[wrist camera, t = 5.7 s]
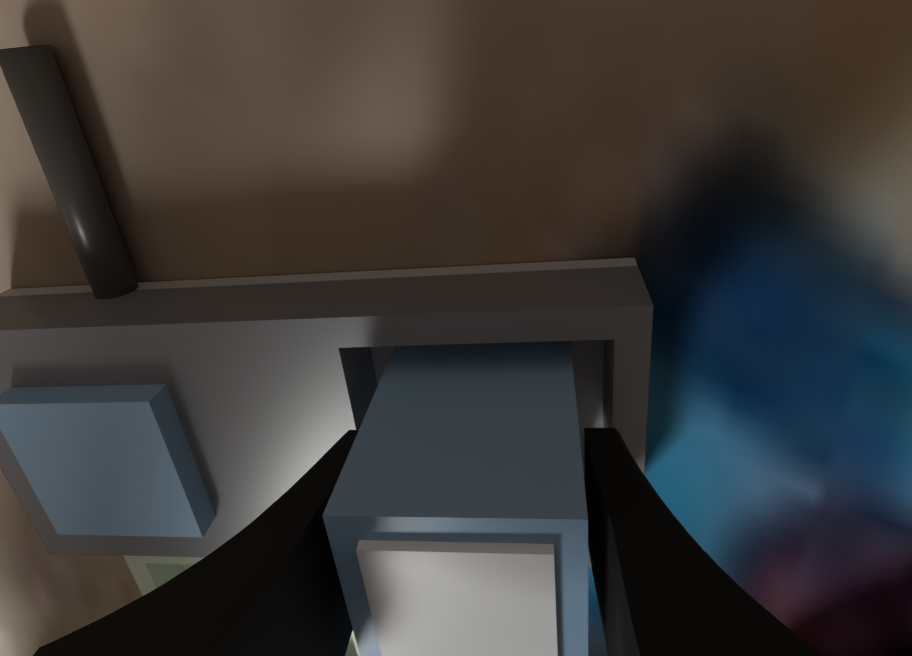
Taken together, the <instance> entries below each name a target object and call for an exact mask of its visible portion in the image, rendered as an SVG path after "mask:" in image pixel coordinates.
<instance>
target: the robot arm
mask: <svg viewBox="0 0 912 656" xmlns="http://www.w3.org/2000/svg"><path fill="white" fill-rule="evenodd" d="M358 431H359V430H349V431H347V432H346V433H345V434H344V435H343V436H342V437H341V438H340V439H339V440H338V441H337V442H336V443H335V444H334V445H333V446H332V447H331V448H330V449H329V450H328V451H327V452H326V453H325V454H324V455H323V456H322V457H321V458H320V459H319V460H318V461H317V462H316V463H315V464H314V465H313V466H312V467H311V468H310V469H309V470H308V471H307V472H306V473H305V474H304V475H303V476H302V477H301V478H300V479H299V480H298V481H297V482H296V483H295V484H294V485H293V486H292V487H291V488H290V489H289V490H288V491H286V492H285V493H284V494H283V495H282V496H281V497H280V498H279V499H277V500H276V501H275V502H274V503H273V504H272V505H271V506H270V507H268V508H267V509H266V510H265V511H264V512H263V513H262V514H261V515H259V516H258V517H257V518H256V519H255V520H254V521H252V522H251V523H250V524H249V525H247V526H246V527H245V528H244V529H242V530H241V531H240V532H239V533H237V534H236V535H235V536H233V537H232V538H231V539H229V540H228V541H227V542H225V543H224V544H223V545H221V546H220V547H219V548H217V549H216V550H215V551H213V552H212V553H210V554H209V555H207V556H206V557H204V558H203V559H201V560H200V561H198V562H197V563H195V564H194V565H192V566H191V567H189V568H188V569H186V570H185V571H183V572H181V573H180V574H178V575H177V576H175V577H174V578H172V579H171V580H169V581H168V582H166V583H164V584H163V585H161V586H159V587H158V588H156V589H154V590H153V591H151V592H149V593H147V594H146V595H144V596H142V597H140V598H139V599H137V600H135V601H133V602H131V603H130V604H128V605H126V606H124V607H122V608H120V609H119V610H117V611H115V612H113V613H111V614H109V615H107V616H105V617H103V618H101V619H99V620H97V621H95V622H93V623H91V624H89V625H87V626H85V627H83V628H81V629H78V630H76V631H74V632H72V633H70V634H68V635H66V636H64V637H62V638H60V639H58V640H55V641H53V642H51V643H49V644H47V645H44V646H42V647H40V648H39V649H38V650H37V651H36V653H35V654H34V655H33V656H345V654H346V651H347V647H348V644H349V640H350V637H351V634H352V631H353V628H352V624H351V621H350V617H349V613H348V609H347V606H346V602H345V598H344V595H343V591H342V587H341V583H340V580H339V576H338V572H337V569H336V565H335V561H334V557H333V554H332V550H331V546H330V543H329V539H328V535H327V531H326V528H325V524H324V520H323V517H322V515H323V513H324V511H325V508H326V506H327V504H328V501H329V499H330V497H331V494H332V492H333V490H334V487H335V485H336V483H337V480H338V478H339V476H340V473H341V471H342V469H343V466H344V464H345V461H346V459H347V457H348V454H349V452H350V450H351V447H352V445H353V443H354V440H355V438H356V436H357V433H358ZM584 461H585V494H586V504H587V515H588V549H589V555H590V560H591V566H592V571H593V577H594V582H595V588H596V593H597V599H598V604H599V609H600V615H601V620H602V625H603V631H604V636H605V642H606V647H607V653H608V656H825V655H823V654H822V653H821V652H819V651H818V650H816V649H815V648H814V647H812V646H811V645H810V644H808V643H807V642H806V641H804V640H803V639H802V638H801V637H799V636H798V635H797V634H795V633H794V632H793V631H791V630H790V629H789V628H788V627H786V626H785V625H784V624H783V623H781V622H780V621H779V620H778V619H777V618H776V617H774V616H773V615H772V614H771V613H770V612H769V611H767V610H766V609H765V608H764V607H763V606H762V605H761V604H759V603H758V602H757V601H756V600H755V599H754V598H752V597H751V596H750V595H749V594H748V593H747V592H745V591H744V590H743V589H742V588H741V587H740V586H739V585H738V584H737V583H736V582H735V581H734V580H733V579H732V578H731V577H730V576H729V575H728V574H727V573H725V572H724V571H723V570H722V569H721V568H720V567H719V566H718V565H717V564H716V563H715V561H714V560H713V559H712V558H711V557H710V556H709V555H708V554H707V553H706V552H705V551H704V550H703V549H702V548H701V547H700V546H699V545H698V543H697V542H696V541H695V540H694V539H693V538H692V537H691V535H690V534H689V533H688V532H687V531H686V530H685V528H684V527H683V526H682V525H681V524H680V522H679V521H678V520H677V519H676V517H675V516H674V515H673V514H672V513H671V511H670V510H669V509H668V507H667V506H666V505H665V503H664V502H663V501H662V499H661V498H660V497H659V495H658V494H657V493H656V491H655V490H654V488H653V487H652V486H651V484H650V483H649V481H648V480H647V478H646V477H645V475H644V474H643V473H642V471H641V469H640V468H639V466H638V465H637V463H636V461H635V460H634V458H633V457H632V455H631V453H630V452H629V450H628V448H627V446H626V444H625V442H624V440H623V439H622V436H621V434H620V432H619V431H618V430H616V429H615V428H584Z"/></svg>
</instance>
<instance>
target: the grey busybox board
mask: <svg viewBox="0 0 912 656" xmlns="http://www.w3.org/2000/svg"><path fill="white" fill-rule="evenodd" d="M0 66H1V69H2V71H3V73H4V76H5V78H6V81H7V83H8V86H9V88H10V91H11V93H12V95H13V98H14V100H15V103H16V105H17V108H18V110H19V113H20V115H21V117H22V120H23V122H24V125H25V127H26V130H27V132H28V135H29V137H30V139H31V142H32V144H33V147H34V149H35V152H36V154H37V157H38V159H39V162H40V164H41V166H42V169H43V171H44V174H45V176H46V179H47V181H48V184H49V186H50V188H51V191H52V193H53V196H54V198H55V201H56V203H57V206H58V208H59V210H60V213H61V215H62V218H63V220H64V223H65V225H66V228H67V230H68V232H69V235H70V237H71V240H72V242H73V245H74V247H75V250H76V252H77V254H78V257H79V259H80V262H81V264H82V267H83V269H84V272H85V274H86V276H87V279H88V281H89V284H90V285H76V286H57V287H37V288H17V289H8V290H6V291H4V292H2V293H0V468H1V469H2V471H3V473H4V475H5V476H6V478H7V480H8V482H9V483H10V485H11V487H12V489H13V490H14V492H15V494H16V496H17V497H18V499H19V501H20V503H21V505H22V506H23V508H24V510H25V512H26V513H27V515H28V517H29V519H30V520H31V522H32V524H33V526H34V527H35V529H36V531H37V533H38V535H39V536H40V538H41V540H42V542H43V543H44V545H45V547H46V549H47V550H48V552H49V554H87V555H126V556H165V557H206V556H207V555H209V554H210V553H212V552H213V551H215V550H216V549H217V548H219V547H220V546H221V545H223V544H224V543H225V542H227V541H228V540H229V539H231V538H232V537H233V536H235V535H236V534H237V533H239V532H240V531H241V530H242V529H244V528H245V527H246V526H247V525H249V524H250V523H251V522H252V521H254V520H255V519H256V518H257V517H258V516H259V515H261V514H262V513H263V512H264V511H265V510H266V509H267V508H268V507H270V506H271V505H272V504H273V503H274V502H275V501H276V500H277V499H279V498H280V497H281V496H282V495H283V494H284V493H285V492H286V491H288V490H289V489H290V488H291V487H292V486H293V485H294V484H295V483H296V482H297V481H298V480H299V479H300V478H301V477H302V476H303V475H304V474H305V473H306V472H307V471H308V470H309V469H310V468H311V467H312V466H313V465H314V464H315V463H316V462H317V461H318V460H319V459H320V458H321V457H322V456H323V455H324V454H325V453H326V452H327V451H328V450H329V449H330V448H331V447H332V446H333V445H334V444H335V443H336V442H337V441H338V440H339V439H340V438H341V437H342V436H343V435H344V434H345V433H346V432H347V431H349V430H359V429H360V426H361V424H362V422H363V419H364V417H365V415H366V412H367V410H368V408H369V405H370V403H371V401H372V398H373V396H374V394H375V391H376V389H377V386H378V384H379V382H380V379H381V377H382V375H383V372H384V370H385V368H386V365H387V363H388V361H389V358H390V356H391V354H392V351H393V349H394V347H395V346H414V345H447V344H480V343H513V342H546V341H570V343H571V353H572V364H573V374H574V384H575V394H576V404H577V414H578V424H579V434H580V444H581V454H582V464H583V474H584V484H585V461H584V428H615V429H616V430H618V431H619V432H620V434H621V436H622V439H623V440H624V442H625V444H626V446H627V448H628V450H629V452H630V453H631V455H632V457H633V458H634V460H635V461H636V463H637V465H638V466H639V468H640V469H641V471H642V473H643V474H644V471H645V453H646V434H647V416H648V397H649V379H650V360H651V341H652V323H653V303H652V301H651V298H650V296H649V293H648V290H647V288H646V285H645V283H644V280H643V278H642V275H641V273H640V270H639V268H638V265H637V263H636V260H635V258H615V259H595V260H575V261H555V262H535V263H515V264H495V265H475V266H455V267H436V268H416V269H396V270H376V271H356V272H336V273H316V274H296V275H276V276H256V277H236V278H216V279H196V280H176V281H156V282H137V279H136V277H135V274H134V271H133V268H132V266H131V263H130V260H129V258H128V255H127V252H126V249H125V247H124V244H123V241H122V239H121V236H120V233H119V230H118V228H117V225H116V222H115V220H114V217H113V214H112V212H111V209H110V206H109V203H108V201H107V198H106V195H105V193H104V190H103V187H102V184H101V182H100V179H99V176H98V174H97V171H96V168H95V165H94V163H93V160H92V157H91V155H90V152H89V149H88V146H87V144H86V141H85V138H84V136H83V133H82V130H81V127H80V125H79V122H78V119H77V117H76V114H75V111H74V109H73V106H72V103H71V100H70V98H69V95H68V92H67V90H66V87H65V84H64V81H63V79H62V76H61V73H60V71H59V68H58V65H57V62H56V60H55V57H54V54H53V52H52V49H51V46H50V45H39V46H28V47H18V48H8V49H0ZM588 567H591V568H592V566H591V560H590V555H589V549H588Z"/></svg>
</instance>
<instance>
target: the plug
mask: <svg viewBox="0 0 912 656" xmlns="http://www.w3.org/2000/svg"><path fill="white" fill-rule="evenodd" d="M322 517H323V520H324V524H325V528H326V531H327V535H328V539H329V543H330V546H331V550H332V554H333V557H334V561H335V565H336V569H337V572H338V576H339V580H340V583H341V587H342V591H343V595H344V598H345V602H346V606H347V609H348V613H349V617H350V621H351V624H352V628H353V632H354V635H355V639H356V643H357V647H358V650H359V654H360V656H588V515H587V504H586V494H585V484H584V474H583V464H582V454H581V444H580V434H579V424H578V414H577V404H576V394H575V384H574V374H573V364H572V353H571V343H570V341H546V342H513V343H480V344H447V345H414V346H395V347H394V349H393V351H392V354H391V356H390V358H389V361H388V363H387V365H386V368H385V370H384V372H383V375H382V377H381V379H380V382H379V384H378V386H377V389H376V391H375V394H374V396H373V398H372V401H371V403H370V405H369V408H368V410H367V412H366V415H365V417H364V419H363V422H362V424H361V426H360V429H359V431H358V433H357V436H356V438H355V440H354V443H353V445H352V447H351V450H350V452H349V454H348V457H347V459H346V461H345V464H344V466H343V469H342V471H341V473H340V476H339V478H338V480H337V483H336V485H335V487H334V490H333V492H332V494H331V497H330V499H329V501H328V504H327V506H326V508H325V511H324V513H323V515H322Z"/></svg>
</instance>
